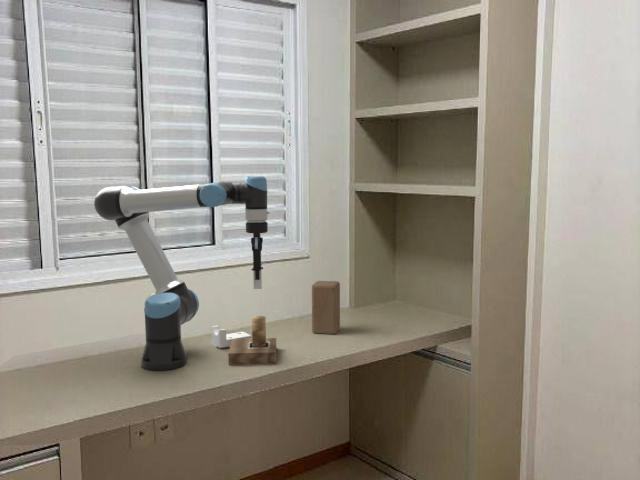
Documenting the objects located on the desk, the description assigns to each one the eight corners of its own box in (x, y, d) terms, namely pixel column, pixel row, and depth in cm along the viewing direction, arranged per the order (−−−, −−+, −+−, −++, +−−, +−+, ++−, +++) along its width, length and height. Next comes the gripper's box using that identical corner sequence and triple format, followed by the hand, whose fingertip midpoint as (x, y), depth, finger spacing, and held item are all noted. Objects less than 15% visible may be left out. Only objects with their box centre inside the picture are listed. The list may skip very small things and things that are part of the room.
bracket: (220, 350, 229) (219, 330, 228) (212, 345, 235) (211, 326, 234) (251, 344, 236) (251, 325, 235) (243, 340, 242) (242, 321, 241)
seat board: (228, 364, 211) (228, 353, 211) (232, 349, 229) (232, 338, 229) (275, 363, 212) (275, 352, 212) (276, 348, 230) (276, 337, 230)
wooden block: (336, 334, 248) (335, 285, 246) (311, 333, 250) (311, 284, 248) (340, 328, 258) (340, 280, 256) (316, 327, 260) (316, 280, 258)
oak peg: (251, 358, 218) (251, 319, 216) (252, 354, 223) (251, 316, 221) (266, 358, 218) (265, 319, 217) (266, 353, 223) (265, 315, 222)
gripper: (267, 222, 209) (267, 292, 212) (268, 219, 222) (268, 284, 225) (244, 223, 209) (245, 292, 211) (246, 219, 221) (247, 285, 224)
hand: (257, 288), depth 218 cm, fingers closed
